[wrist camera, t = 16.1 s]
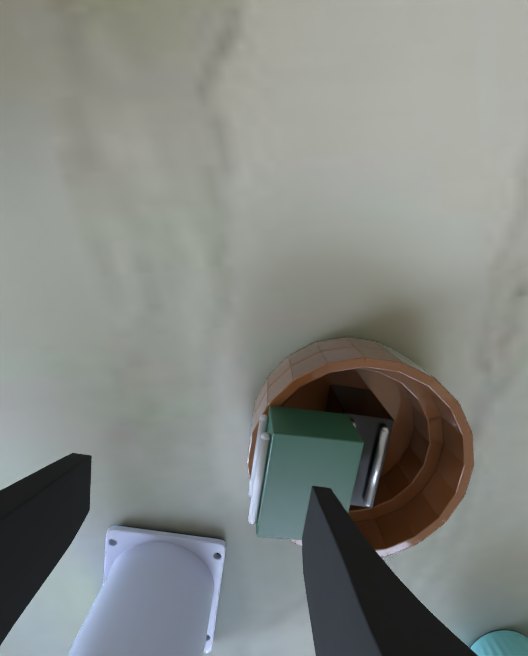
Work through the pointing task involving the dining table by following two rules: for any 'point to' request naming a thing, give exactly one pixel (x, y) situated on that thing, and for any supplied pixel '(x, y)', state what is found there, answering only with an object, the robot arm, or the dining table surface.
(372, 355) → the bowl
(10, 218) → the dining table surface
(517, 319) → the dining table surface
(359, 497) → the black clip
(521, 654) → the cupcake
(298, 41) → the dining table surface
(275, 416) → the green clip
